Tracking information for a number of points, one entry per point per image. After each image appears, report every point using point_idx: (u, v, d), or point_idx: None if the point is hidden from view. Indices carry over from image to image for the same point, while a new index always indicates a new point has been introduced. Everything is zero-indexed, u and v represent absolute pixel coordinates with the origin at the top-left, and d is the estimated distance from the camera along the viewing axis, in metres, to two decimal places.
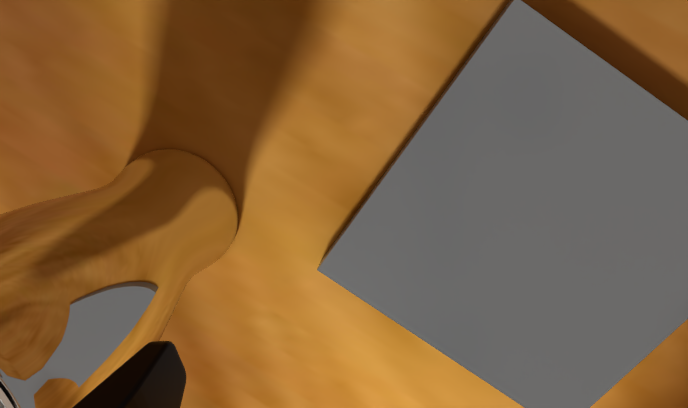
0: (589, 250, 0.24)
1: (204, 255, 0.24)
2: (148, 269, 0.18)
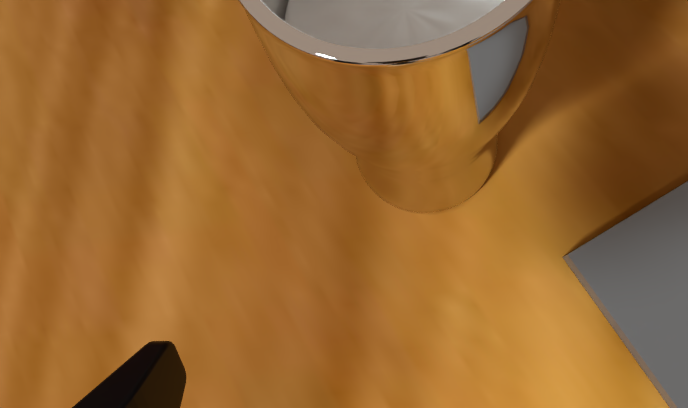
0: None
1: (475, 163, 0.21)
2: None
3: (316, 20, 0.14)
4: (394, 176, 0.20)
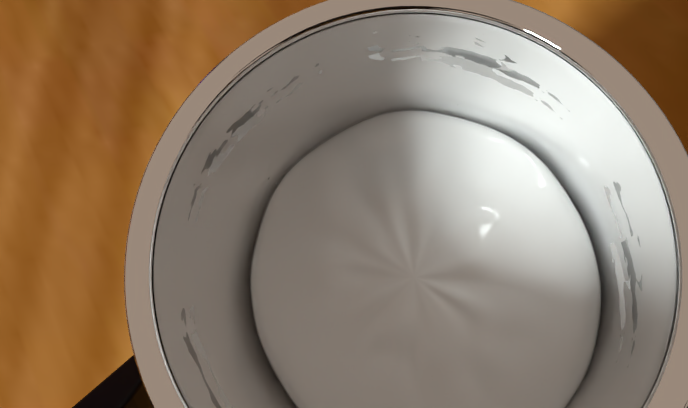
0: None
1: None
2: None
3: (293, 279, 0.10)
4: None
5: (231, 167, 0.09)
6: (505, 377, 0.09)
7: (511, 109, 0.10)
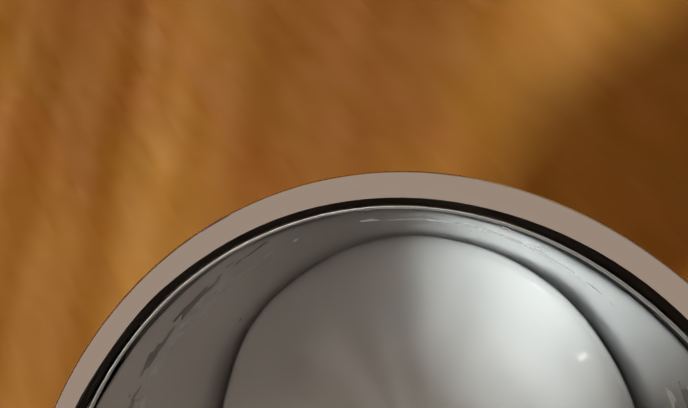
0: None
1: None
2: None
3: None
4: None
5: (185, 346, 0.07)
6: None
7: (540, 259, 0.08)
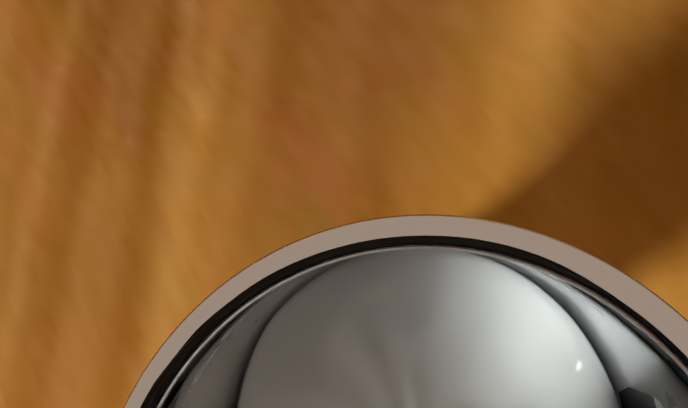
0: None
1: None
2: None
3: None
4: None
5: (216, 354, 0.08)
6: None
7: (543, 274, 0.08)
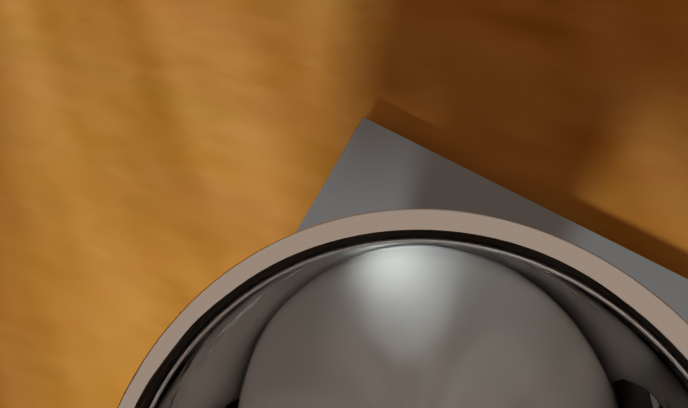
0: None
1: None
2: None
3: None
4: None
5: (215, 350, 0.08)
6: None
7: (540, 273, 0.08)
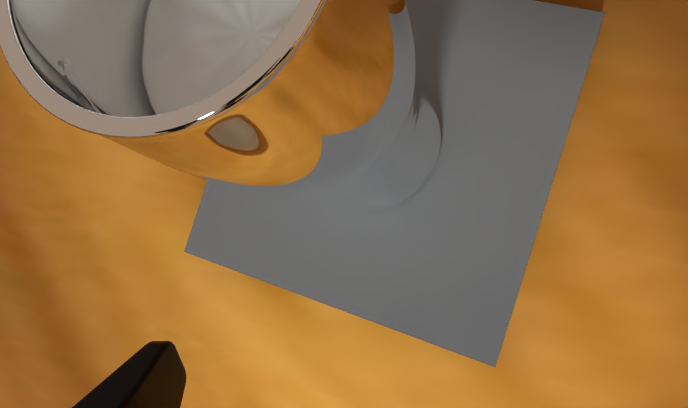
0: None
1: (408, 157, 0.20)
2: None
3: (169, 63, 0.13)
4: None
5: None
6: None
7: None
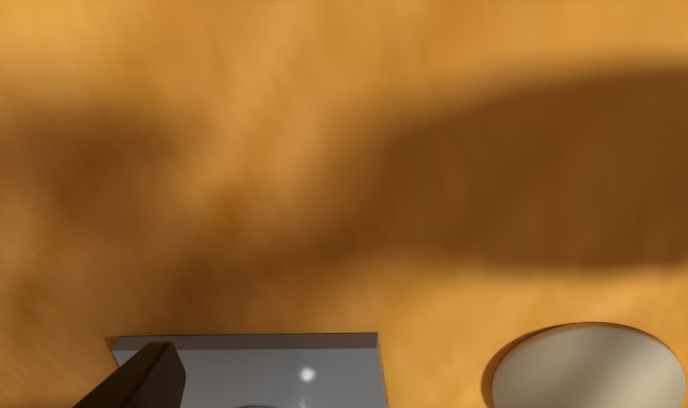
0: None
1: None
2: None
3: None
4: None
5: None
6: None
7: None
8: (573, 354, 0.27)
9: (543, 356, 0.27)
